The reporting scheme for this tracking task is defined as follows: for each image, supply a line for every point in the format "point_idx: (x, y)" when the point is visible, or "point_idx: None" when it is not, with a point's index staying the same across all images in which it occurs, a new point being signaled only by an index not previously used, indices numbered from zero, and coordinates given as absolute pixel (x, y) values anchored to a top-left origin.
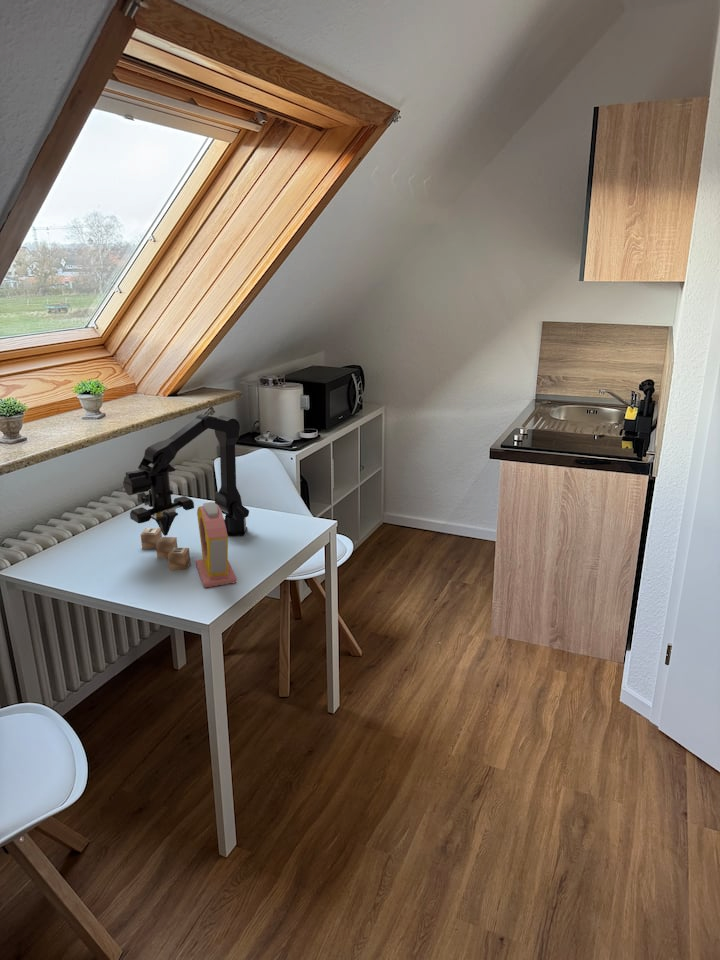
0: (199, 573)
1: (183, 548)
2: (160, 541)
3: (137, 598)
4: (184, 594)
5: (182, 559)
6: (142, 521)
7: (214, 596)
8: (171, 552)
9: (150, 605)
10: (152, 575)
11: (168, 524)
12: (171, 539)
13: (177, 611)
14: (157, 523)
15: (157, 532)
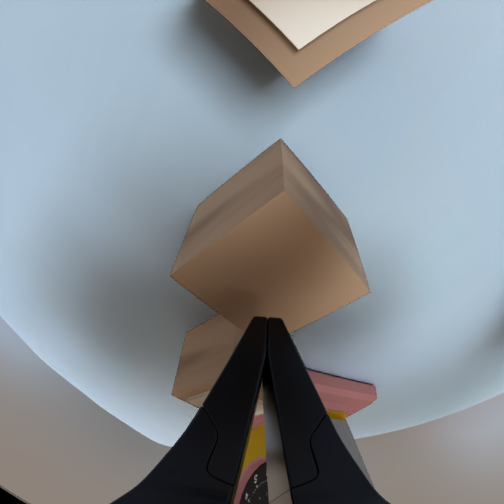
0: None
1: (260, 409)
2: (220, 272)
3: (64, 365)
4: (164, 412)
5: None
6: (9, 501)
7: None
8: (191, 402)
9: (89, 392)
10: (116, 321)
11: (267, 472)
12: (311, 300)
13: (131, 422)
14: (183, 434)
15: (344, 46)
